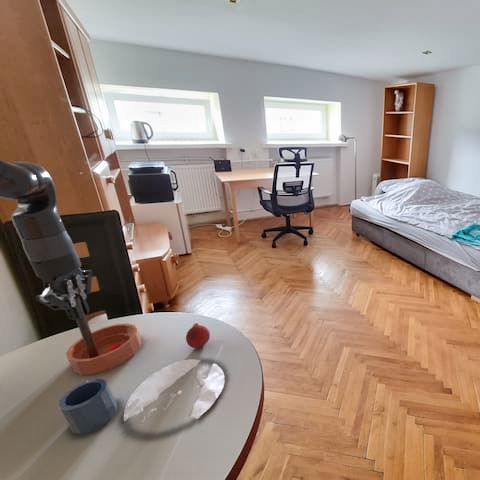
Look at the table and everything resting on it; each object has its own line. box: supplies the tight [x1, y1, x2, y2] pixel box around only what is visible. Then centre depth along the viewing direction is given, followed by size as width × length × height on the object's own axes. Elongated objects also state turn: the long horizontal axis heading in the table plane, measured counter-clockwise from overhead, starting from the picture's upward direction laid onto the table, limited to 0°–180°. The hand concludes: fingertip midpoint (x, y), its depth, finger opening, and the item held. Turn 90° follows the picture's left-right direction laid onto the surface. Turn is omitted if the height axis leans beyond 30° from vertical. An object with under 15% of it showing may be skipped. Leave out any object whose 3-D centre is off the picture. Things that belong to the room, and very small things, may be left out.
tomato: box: [110, 344, 121, 352], centre depth 78 cm, size 3×3×3 cm
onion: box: [185, 322, 211, 349], centre depth 80 cm, size 6×6×8 cm
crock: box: [57, 378, 118, 435], centre depth 60 cm, size 7×8×8 cm
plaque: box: [123, 358, 226, 422], centre depth 67 cm, size 20×20×2 cm
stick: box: [74, 297, 99, 358], centre depth 73 cm, size 2×2×18 cm
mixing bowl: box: [65, 323, 143, 376], centre depth 78 cm, size 15×15×5 cm
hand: (80, 315), depth 71 cm, fingers closed on stick, 2 cm apart
